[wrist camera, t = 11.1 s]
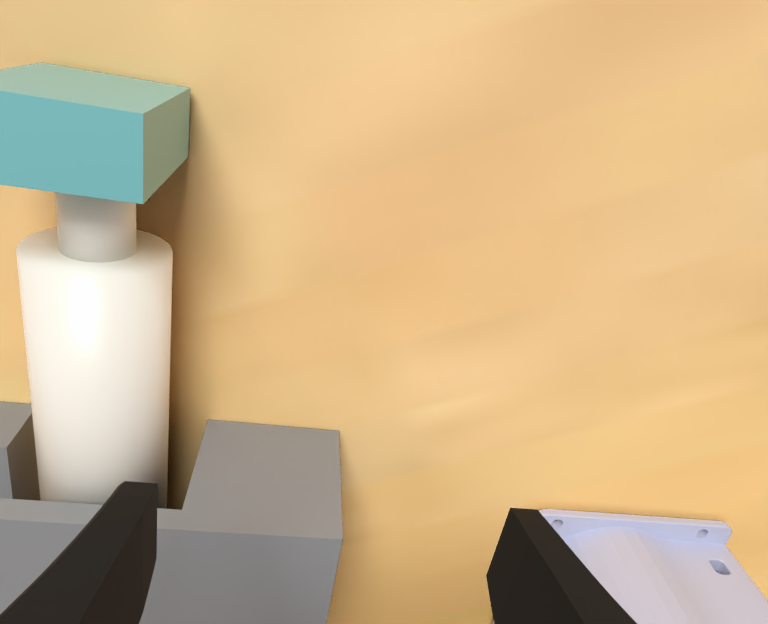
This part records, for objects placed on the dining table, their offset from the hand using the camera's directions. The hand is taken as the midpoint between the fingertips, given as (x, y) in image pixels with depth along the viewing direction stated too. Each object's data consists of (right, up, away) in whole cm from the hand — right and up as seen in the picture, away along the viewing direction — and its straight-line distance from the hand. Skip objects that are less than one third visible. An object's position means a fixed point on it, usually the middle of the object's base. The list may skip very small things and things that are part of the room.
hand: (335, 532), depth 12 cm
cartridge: (-8, +4, +8) cm, 12 cm away
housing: (-9, -5, +13) cm, 16 cm away
